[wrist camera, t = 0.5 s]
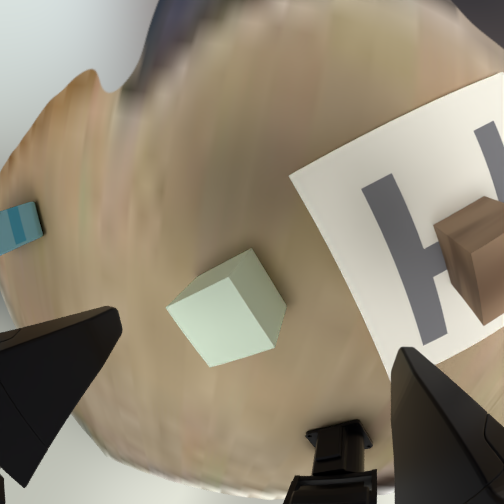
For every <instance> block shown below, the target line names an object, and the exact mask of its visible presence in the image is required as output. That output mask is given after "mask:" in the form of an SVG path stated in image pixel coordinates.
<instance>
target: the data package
mask: <svg viewBox="0 0 504 504" xmlns="http://www.w3.org/2000/svg"><path fill="white" fill-rule="evenodd" d="M42 236H43V233H42V229H41V225H40V222H39V218H38V214H37V210H36V206H35V203H34V202H28V203H25V204H22V205H18V206H15V207H12V208H9V209H6V210H3V211H0V256H1V255H3V254H5V253H7V252H9V251H12V250H14V249H16V248H18V247H20V246H22V245H25V244H27V243H29V242H31V241H33V240H36V239H38V238H40V237H42Z"/></svg>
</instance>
